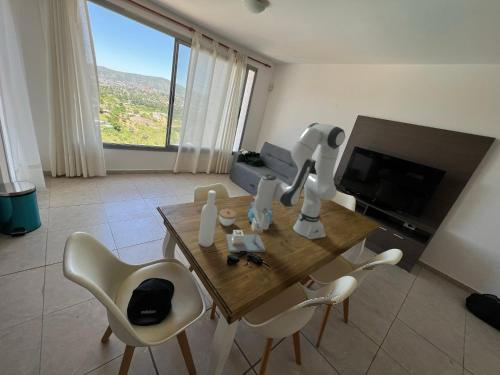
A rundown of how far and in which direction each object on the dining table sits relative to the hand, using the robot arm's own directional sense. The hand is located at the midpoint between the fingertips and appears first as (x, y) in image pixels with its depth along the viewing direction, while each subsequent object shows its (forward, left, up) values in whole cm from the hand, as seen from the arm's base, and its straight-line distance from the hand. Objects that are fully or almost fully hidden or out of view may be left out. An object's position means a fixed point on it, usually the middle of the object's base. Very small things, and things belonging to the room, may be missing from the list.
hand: (257, 226), depth 113 cm
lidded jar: (+13, -20, -12) cm, 27 cm away
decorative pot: (-10, -24, -12) cm, 29 cm away
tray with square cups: (+5, 0, -11) cm, 13 cm away
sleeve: (0, 0, -2) cm, 2 cm away
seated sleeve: (+10, 0, -10) cm, 14 cm away
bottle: (+27, -1, -12) cm, 29 cm away
